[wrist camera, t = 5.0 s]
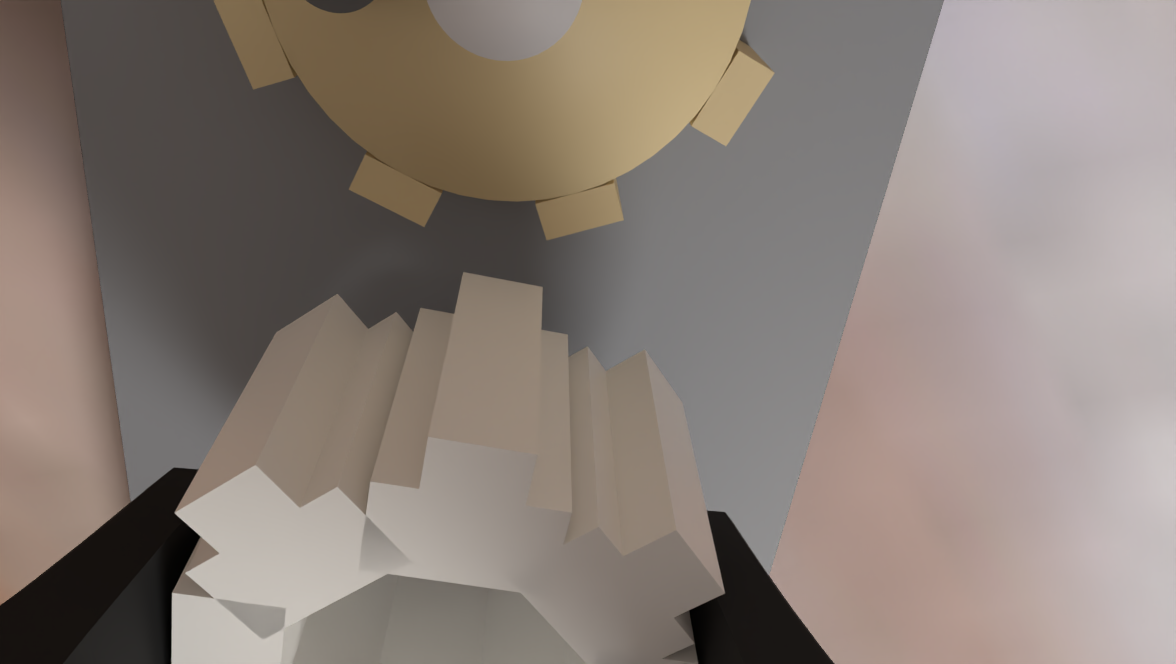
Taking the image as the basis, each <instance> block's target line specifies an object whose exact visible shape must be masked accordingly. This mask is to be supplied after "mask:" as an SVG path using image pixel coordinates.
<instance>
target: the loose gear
mask: <svg viewBox="0 0 1176 664" xmlns="http://www.w3.org/2000/svg"><path fill="white" fill-rule="evenodd" d="M542 292H543V287H540V286H535V285H530V284H524V283H519V282H514V281H508V280H503V279H498V278H492V277H487V276H482V275H476V274H471V273H466V272H463V275H462V280H461V285H460V290H459V294H458V299H457V304H456V308H455V313H454V314H452V313H447V312H441V311H436V310H430V309H425V308H420V311H419V314H418V318H417V321H416V325H415V328H414V331H412V330H411V329H410V327H409V326H408V325H407V324H406V323H405V322H404V320H403V319H402V318H401V317H400V316H399V314H398V313H397V312H395V313H394V314H392V315H390V316H389V317H387V318H385V319H384V320H382V321H381V322H379V323H377V324H376V325H374V326H372V327H371V328H369V329H368V328H367V327H366V326H365V325H364V324H363V322H362V321H361V320H360V319H359V318H358V317H357V315H356V314H355V313H354V312H353V311H352V310H351V309H350V307H349V306H348V305H347V304H346V303H345V302H344V300H343V299H342V298H341V297H340V296H339V295H338V294H336V295H335V296H333V297H331V298H330V299H328V300H327V301H325V302H324V303H322V304H320V305H319V306H317V307H316V308H314V309H312V310H311V311H309V312H308V313H306V314H304V315H303V316H301V317H300V318H298V319H297V320H295V321H293V322H292V323H290V324H289V325H287V326H285V327H284V328H282V329H281V330H279V331H278V332H276V334H275V335H274V337H273V339H272V341H271V342H270V344H269V346H268V348H267V350H266V351H265V353H264V355H263V357H262V358H261V360H260V362H259V364H258V365H257V367H256V369H255V371H254V373H253V374H252V376H251V378H250V380H249V381H248V383H247V385H246V387H245V388H244V390H243V392H242V394H241V396H240V397H239V399H238V401H237V403H236V404H235V406H234V408H233V410H232V411H231V413H230V415H229V417H228V419H227V420H226V422H225V424H224V426H223V427H222V429H221V431H220V433H219V434H218V436H217V438H216V440H215V442H214V443H213V445H212V447H211V449H210V450H209V452H208V454H207V456H206V457H205V459H204V461H203V463H202V465H201V466H200V468H199V470H198V472H197V473H196V475H195V477H194V479H193V480H192V482H191V484H190V486H189V488H188V489H187V491H186V493H185V495H184V496H183V498H182V500H181V502H180V503H179V505H178V507H177V509H176V511H175V512H174V513H175V514H176V515H177V516H178V517H179V518H180V519H182V520H183V521H184V522H185V523H186V524H187V525H188V526H189V527H191V528H192V529H193V530H194V531H195V532H196V533H197V534H198V535H200V536H201V537H200V539H199V541H198V543H197V545H196V547H195V549H194V551H193V553H192V554H191V556H190V558H189V560H188V562H187V564H186V566H185V568H184V570H183V572H182V574H181V576H180V578H179V580H178V582H177V584H176V586H175V588H174V590H173V592H172V654H171V664H698V660H697V654H696V648H695V641H694V635H693V630H692V624H691V618H690V612H689V610H691V609H693V608H695V607H697V606H699V605H701V604H704V603H706V602H708V601H710V600H712V599H714V598H716V597H718V596H721V595H723V594H725V591H724V586H723V582H722V577H721V573H720V568H719V564H718V560H717V555H716V551H715V546H714V542H713V537H712V533H711V528H710V524H709V519H708V515H707V510H706V506H705V502H704V497H703V493H702V488H701V484H700V479H699V475H698V470H697V466H696V461H695V457H694V452H693V448H692V444H691V439H690V435H689V430H688V426H687V421H686V417H685V412H684V408H683V403H682V402H681V400H680V399H679V397H678V396H677V395H676V393H675V392H674V390H673V389H672V387H671V386H670V385H669V383H668V382H667V380H666V379H665V377H664V376H663V375H662V373H661V372H660V370H659V369H658V367H657V366H656V365H655V363H654V362H653V360H652V359H651V357H650V356H649V355H648V353H647V352H646V350H643V351H641V352H639V353H637V354H636V355H634V356H632V357H630V358H628V359H627V360H625V361H623V362H621V363H619V364H618V365H616V366H614V367H612V368H610V369H609V370H607V371H605V369H604V368H603V367H602V365H601V364H600V363H599V361H598V360H597V358H596V357H595V356H594V354H593V353H592V352H591V350H590V349H589V348H588V346H587V347H585V348H584V349H582V350H580V351H578V352H577V353H575V354H573V355H571V356H569V357H568V334H562V333H557V332H551V331H546V330H541V327H542Z"/></svg>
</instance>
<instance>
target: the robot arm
mask: <svg viewBox="0 0 1176 664" xmlns="http://www.w3.org/2000/svg"><path fill="white" fill-rule="evenodd" d="M198 470H199V469H188V468H175V467H174V468H172V469H171V470H170V471H168V472H167V473H166V474H165V475H163V476H162V477H161V478H160V479H158V480H157V481H156V482H155V483H153V484H152V485H151V486H150V487H148V488H147V489H146V490H145V491H144V492H142V493H141V494H140V495H139V496H137V497H136V498H135V499H134V500H133V501H131V502H130V503H129V504H128V505H127V506H125V507H124V508H123V509H122V510H121V511H119V512H118V513H117V514H116V515H115V516H113V517H112V518H111V519H110V520H109V521H107V522H106V523H105V524H104V525H103V526H101V527H100V528H99V529H98V530H96V531H95V532H94V533H93V534H92V535H90V536H89V537H88V538H87V539H85V540H84V541H83V542H82V543H81V544H79V545H78V546H77V547H75V548H74V549H73V550H72V551H70V552H69V553H68V554H67V555H65V556H64V557H63V558H62V559H60V560H59V561H58V562H56V563H55V564H54V565H53V566H51V567H50V568H49V569H48V570H46V571H45V572H44V573H43V574H41V575H40V576H39V577H37V578H36V579H35V580H34V581H32V582H31V583H30V584H28V585H27V586H26V587H25V588H23V589H22V590H21V591H19V592H18V593H17V594H15V595H14V596H13V597H11V598H10V599H8V600H7V601H6V602H4V603H3V604H2V605H0V664H171V654H172V592H173V590H174V588H175V586H176V584H177V582H178V580H179V578H180V576H181V574H182V572H183V570H184V568H185V566H186V564H187V562H188V560H189V558H190V556H191V554H192V553H193V551H194V549H195V547H196V545H197V543H198V541H199V539H200V537H201V536H200V535H198V534H197V533H196V532H195V531H194V530H193V529H192V528H191V527H189V526H188V525H187V524H186V523H185V522H184V521H183V520H182V519H180V518H179V517H178V516H177V515H176V514H175V513H174V512H175V511H176V509H177V507H178V505H179V503H180V502H181V500H182V498H183V496H184V495H185V493H186V491H187V489H188V488H189V486H190V484H191V482H192V480H193V479H194V477H195V475H196V473H197V472H198ZM707 515H708V519H709V524H710V528H711V533H712V537H713V542H714V546H715V551H716V555H717V560H718V564H719V568H720V573H721V577H722V582H723V586H724V591H725V594H723V595H721V596H718V597H716V598H714V599H712V600H710V601H708V602H706V603H704V604H701V605H699V606H697V607H695V608H693V609H691V610H689V612H690V618H691V624H692V630H693V635H694V641H695V648H696V654H697V660H698V664H834V663H833V661H832V660H831V659H830V658H829V656H828V655H827V654H826V653H825V651H824V650H823V649H822V648H821V646H820V645H819V644H818V642H817V641H816V640H815V638H814V637H813V636H812V634H811V633H810V632H809V630H808V629H807V628H806V626H805V625H804V624H803V622H802V621H801V620H800V618H799V617H798V616H797V614H796V613H795V612H794V610H793V609H792V608H791V606H790V605H789V603H788V602H787V601H786V599H785V598H784V596H783V595H782V594H781V592H780V591H779V589H778V588H777V586H776V585H775V584H774V582H773V581H772V579H771V578H770V576H769V575H768V574H767V572H766V571H765V569H764V568H763V566H762V565H761V563H760V562H759V560H758V559H757V557H756V556H755V554H754V553H753V552H752V550H751V549H750V547H749V546H748V544H747V543H746V541H745V540H744V538H743V537H742V535H741V534H740V532H739V531H738V529H737V528H736V526H735V525H734V523H733V522H732V520H731V519H730V518H729V516H728V515H727V514H726V513H725V512H720V511H708V510H707Z"/></svg>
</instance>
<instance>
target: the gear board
mask: <svg viewBox="0 0 1176 664" xmlns="http://www.w3.org/2000/svg"><path fill="white" fill-rule="evenodd" d="M943 2H944V0H61V7H62V14H63V21H64V28H65V35H66V42H67V49H68V57H69V64H70V71H71V78H72V85H73V92H74V100H75V107H76V114H77V121H78V128H79V135H80V143H81V150H82V157H83V164H84V171H85V178H86V185H87V193H88V200H89V207H90V214H91V221H92V228H93V236H94V243H95V250H96V257H97V264H98V271H99V278H100V286H101V293H102V300H103V307H104V314H105V321H106V329H107V336H108V343H109V350H110V357H111V364H112V372H113V379H114V386H115V393H116V400H117V407H118V414H119V422H120V429H121V436H122V443H123V450H124V457H125V465H126V472H127V479H128V486H129V493H130V500H131V501H133V500H134V499H135V498H136V497H137V496H139V495H140V494H141V493H142V492H144V491H145V490H146V489H147V488H148V487H150V486H151V485H152V484H153V483H155V482H156V481H157V480H158V479H160V478H161V477H162V476H163V475H165V474H166V473H167V472H168V471H170V470H171V469H172V468H174V467H175V468H188V469H199V468H200V466H201V465H202V463H203V461H204V459H205V457H206V456H207V454H208V452H209V450H210V449H211V447H212V445H213V443H214V442H215V440H216V438H217V436H218V434H219V433H220V431H221V429H222V427H223V426H224V424H225V422H226V420H227V419H228V417H229V415H230V413H231V411H232V410H233V408H234V406H235V404H236V403H237V401H238V399H239V397H240V396H241V394H242V392H243V390H244V388H245V387H246V385H247V383H248V381H249V380H250V378H251V376H252V374H253V373H254V371H255V369H256V367H257V365H258V364H259V362H260V360H261V358H262V357H263V355H264V353H265V351H266V350H267V348H268V346H269V344H270V342H271V341H272V339H273V337H274V335H275V334H276V332H278V331H279V330H281V329H282V328H284V327H285V326H287V325H289V324H290V323H292V322H293V321H295V320H297V319H298V318H300V317H301V316H303V315H304V314H306V313H308V312H309V311H311V310H312V309H314V308H316V307H317V306H319V305H320V304H322V303H324V302H325V301H327V300H328V299H330V298H331V297H333V296H335V295H336V294H338V295H339V296H340V297H341V298H342V299H343V300H344V302H345V303H346V304H347V305H348V306H349V307H350V309H351V310H352V311H353V312H354V313H355V314H356V315H357V317H358V318H359V319H360V320H361V321H362V322H363V324H364V325H365V326H366V327H367V328H368V329H369V328H371V327H372V326H374V325H376V324H377V323H379V322H381V321H382V320H384V319H385V318H387V317H389V316H390V315H392V314H394V313H395V312H397V313H398V314H399V316H400V317H401V318H402V319H403V320H404V322H405V323H406V324H407V325H408V326H409V327H410V329H411V330H412V331H414V328H415V325H416V321H417V318H418V314H419V311H420V308H425V309H430V310H436V311H441V312H447V313H452V314H454V313H455V308H456V304H457V299H458V294H459V290H460V285H461V280H462V275H463V272H466V273H471V274H476V275H482V276H487V277H492V278H498V279H503V280H508V281H514V282H519V283H524V284H530V285H535V286H540V287H543V292H542V327H541V330H546V331H551V332H557V333H562V334H568V357H569V356H571V355H573V354H575V353H577V352H578V351H580V350H582V349H584V348H585V347H587V346H588V348H589V349H590V350H591V352H592V353H593V354H594V356H595V357H596V358H597V360H598V361H599V363H600V364H601V365H602V367H603V368H604V369H605V371H607V370H609V369H610V368H612V367H614V366H616V365H618V364H619V363H621V362H623V361H625V360H627V359H628V358H630V357H632V356H634V355H636V354H637V353H639V352H641V351H643V350H646V352H647V353H648V355H649V356H650V357H651V359H652V360H653V362H654V363H655V365H656V366H657V367H658V369H659V370H660V372H661V373H662V375H663V376H664V377H665V379H666V380H667V382H668V383H669V385H670V386H671V387H672V389H673V390H674V392H675V393H676V395H677V396H678V397H679V399H680V400H681V402H682V403H683V408H684V412H685V417H686V421H687V426H688V430H689V435H690V439H691V444H692V448H693V452H694V457H695V461H696V466H697V470H698V475H699V479H700V484H701V488H702V493H703V497H704V502H705V506H706V510H708V511H720V512H725V513H726V514H727V515H728V516H729V518H730V519H731V520H732V522H733V523H734V525H735V526H736V528H737V529H738V531H739V532H740V534H741V535H742V537H743V538H744V540H745V541H746V543H747V544H748V546H749V547H750V549H751V550H752V552H753V553H754V554H755V556H756V557H757V559H758V560H759V562H760V563H761V565H762V566H763V568H764V569H765V571H766V572H767V574H768V575H769V574H770V571H771V567H772V564H773V561H774V558H775V554H776V551H777V548H778V544H779V541H780V538H781V535H782V531H783V528H784V525H785V521H786V518H787V515H788V511H789V508H790V505H791V502H792V498H793V495H794V492H795V488H796V485H797V482H798V479H799V475H800V472H801V469H802V465H803V462H804V459H805V456H806V452H807V449H808V446H809V442H810V439H811V436H812V433H813V429H814V426H815V423H816V419H817V416H818V413H819V410H820V406H821V403H822V400H823V396H824V393H825V390H826V386H827V383H828V380H829V377H830V373H831V370H832V367H833V363H834V360H835V357H836V354H837V350H838V347H839V344H840V340H841V337H842V334H843V331H844V327H845V324H846V321H847V317H848V314H849V311H850V308H851V304H852V301H853V298H854V294H855V291H856V288H857V285H858V281H859V278H860V275H861V271H862V268H863V265H864V261H865V258H866V255H867V252H868V248H869V245H870V242H871V238H872V235H873V232H874V229H875V225H876V222H877V219H878V215H879V212H880V209H881V206H882V202H883V199H884V196H885V192H886V189H887V186H888V183H889V179H890V176H891V173H892V169H893V166H894V163H895V160H896V156H897V153H898V150H899V146H900V143H901V140H902V136H903V133H904V130H905V127H906V123H907V120H908V117H909V113H910V110H911V107H912V104H913V100H914V97H915V94H916V90H917V87H918V84H919V81H920V77H921V74H922V71H923V67H924V64H925V61H926V58H927V54H928V51H929V48H930V44H931V41H932V38H933V35H934V31H935V28H936V25H937V21H938V18H939V15H940V11H941V8H942V5H943Z"/></svg>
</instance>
